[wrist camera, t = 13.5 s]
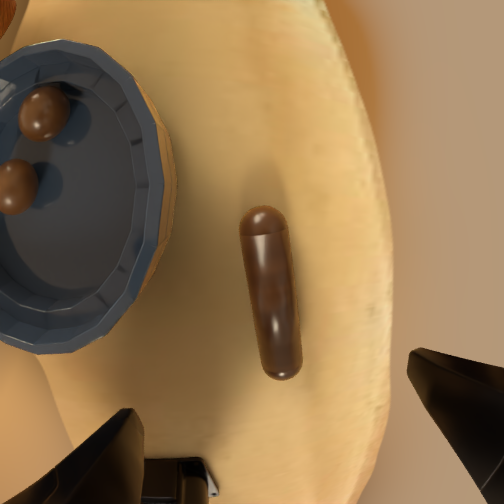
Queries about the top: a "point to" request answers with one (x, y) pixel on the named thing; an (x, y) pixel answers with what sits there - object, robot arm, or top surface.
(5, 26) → the disposable coffee cup
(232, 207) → the top surface
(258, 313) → the stick
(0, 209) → the glossy brown ball
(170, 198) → the bowl
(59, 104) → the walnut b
